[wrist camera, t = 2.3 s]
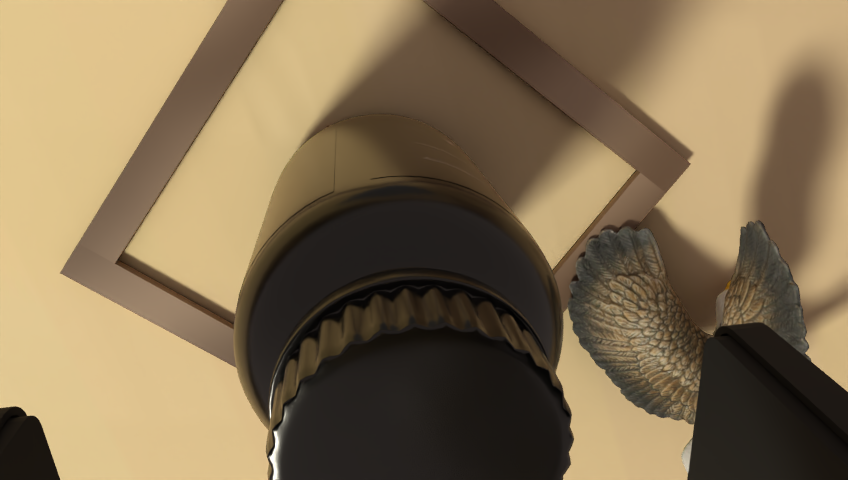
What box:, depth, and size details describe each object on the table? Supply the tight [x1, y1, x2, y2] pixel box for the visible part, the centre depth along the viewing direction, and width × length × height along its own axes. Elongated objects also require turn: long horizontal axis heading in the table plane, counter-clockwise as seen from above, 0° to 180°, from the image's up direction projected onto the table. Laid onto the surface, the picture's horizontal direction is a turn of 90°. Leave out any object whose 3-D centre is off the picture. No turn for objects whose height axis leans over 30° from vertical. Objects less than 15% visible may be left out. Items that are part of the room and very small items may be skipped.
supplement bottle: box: [233, 114, 574, 480], centre depth 16 cm, size 7×7×12 cm
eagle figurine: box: [567, 221, 811, 472], centre depth 21 cm, size 8×7×9 cm
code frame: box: [60, 0, 690, 367], centre depth 21 cm, size 14×14×1 cm
